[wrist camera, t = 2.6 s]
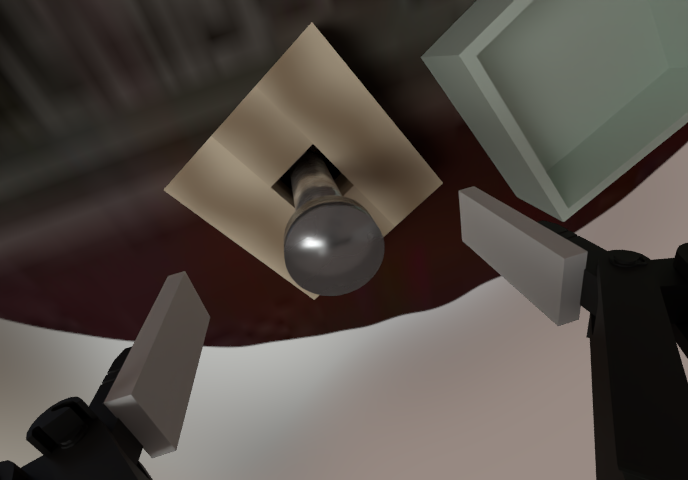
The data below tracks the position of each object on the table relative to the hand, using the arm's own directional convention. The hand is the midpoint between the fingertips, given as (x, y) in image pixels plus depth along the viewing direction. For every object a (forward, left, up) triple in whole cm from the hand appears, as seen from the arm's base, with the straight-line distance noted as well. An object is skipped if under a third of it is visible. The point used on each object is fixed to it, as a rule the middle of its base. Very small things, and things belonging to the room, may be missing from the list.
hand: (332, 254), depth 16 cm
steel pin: (0, 0, -14) cm, 14 cm away
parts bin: (-20, +8, -14) cm, 26 cm away
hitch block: (0, 0, -14) cm, 14 cm away
